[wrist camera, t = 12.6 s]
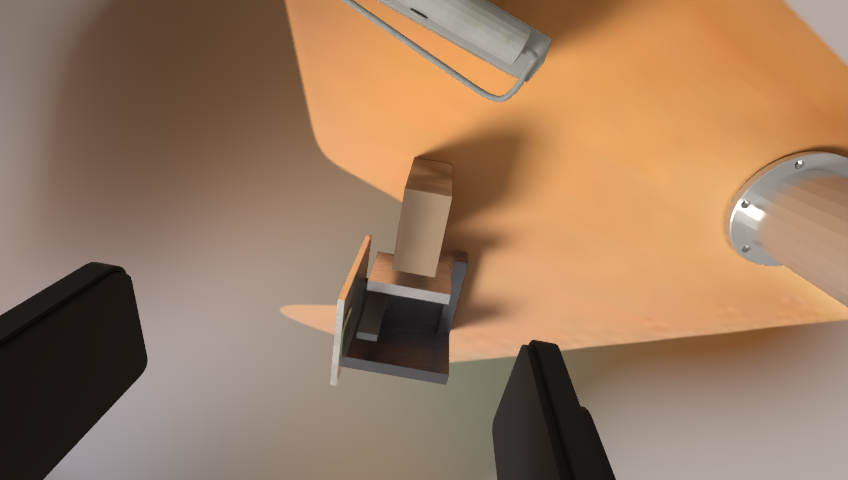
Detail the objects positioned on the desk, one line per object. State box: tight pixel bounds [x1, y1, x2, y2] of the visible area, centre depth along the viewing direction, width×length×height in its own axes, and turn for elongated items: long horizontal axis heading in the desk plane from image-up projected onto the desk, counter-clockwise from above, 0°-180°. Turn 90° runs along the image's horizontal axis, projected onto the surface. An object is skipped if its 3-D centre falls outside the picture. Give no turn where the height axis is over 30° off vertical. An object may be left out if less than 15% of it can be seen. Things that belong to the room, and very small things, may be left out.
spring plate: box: [367, 252, 451, 304], centre depth 42 cm, size 8×3×6 cm, turn 80°
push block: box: [392, 158, 452, 277], centre depth 38 cm, size 4×8×10 cm, turn 170°
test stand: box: [330, 235, 468, 386], centre depth 42 cm, size 12×12×13 cm
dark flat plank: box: [356, 291, 388, 342], centre depth 42 cm, size 2×1×10 cm, turn 80°
